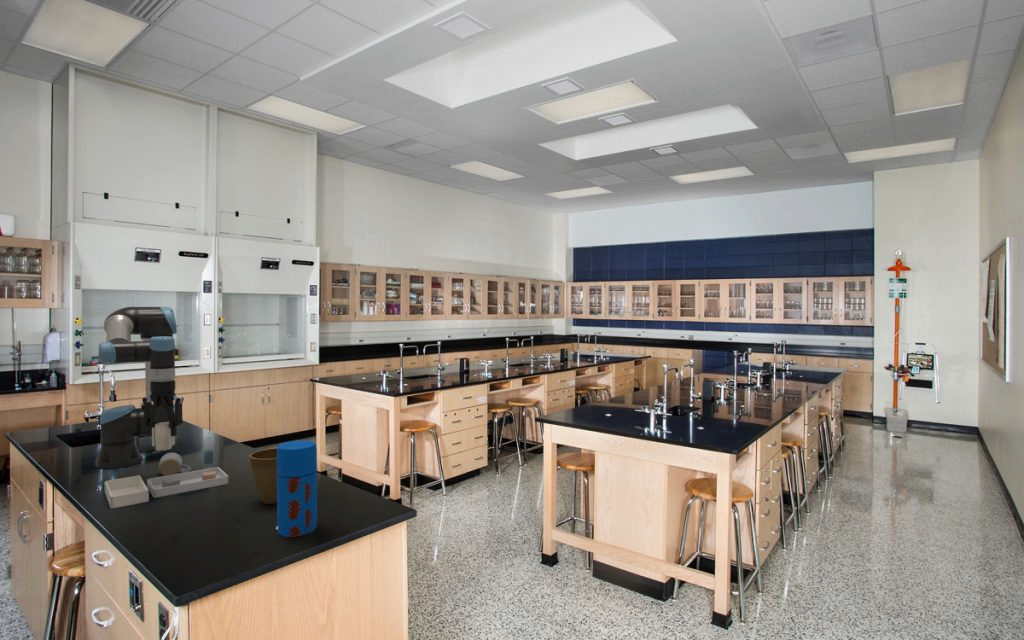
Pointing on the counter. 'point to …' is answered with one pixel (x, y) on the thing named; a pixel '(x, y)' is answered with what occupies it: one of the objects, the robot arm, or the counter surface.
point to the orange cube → (208, 475)
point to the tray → (186, 482)
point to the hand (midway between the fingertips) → (163, 445)
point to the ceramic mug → (172, 465)
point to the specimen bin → (126, 491)
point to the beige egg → (161, 436)
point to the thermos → (296, 487)
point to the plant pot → (265, 474)
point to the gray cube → (170, 482)
